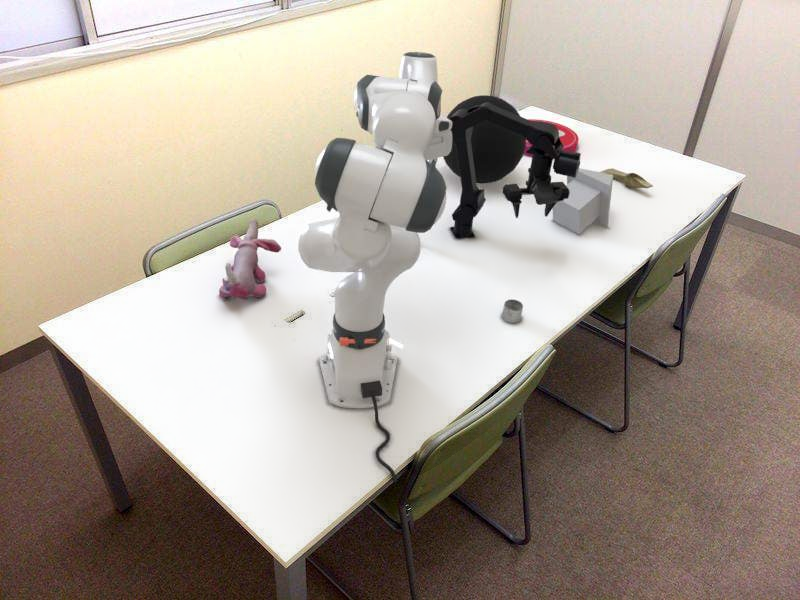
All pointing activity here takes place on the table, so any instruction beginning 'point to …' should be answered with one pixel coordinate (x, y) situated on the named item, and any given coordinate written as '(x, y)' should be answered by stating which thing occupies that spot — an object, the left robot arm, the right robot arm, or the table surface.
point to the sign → (565, 135)
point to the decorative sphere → (489, 144)
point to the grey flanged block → (585, 201)
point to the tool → (629, 178)
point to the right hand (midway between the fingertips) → (531, 216)
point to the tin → (512, 311)
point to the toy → (247, 265)
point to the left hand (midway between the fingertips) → (411, 178)
